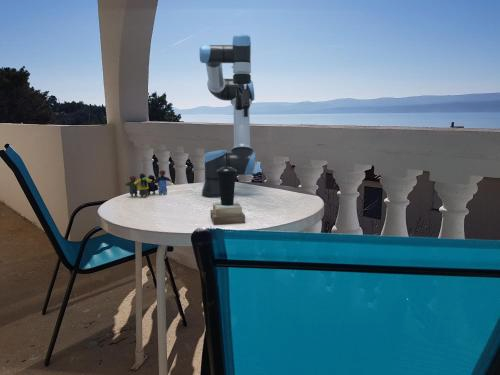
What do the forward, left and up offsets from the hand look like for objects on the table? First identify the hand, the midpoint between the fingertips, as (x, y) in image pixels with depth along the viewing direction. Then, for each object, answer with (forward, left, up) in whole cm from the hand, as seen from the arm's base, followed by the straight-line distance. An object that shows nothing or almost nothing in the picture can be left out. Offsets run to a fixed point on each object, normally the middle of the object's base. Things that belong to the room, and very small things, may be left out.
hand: (242, 125), depth 160 cm
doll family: (-37, -42, -37) cm, 67 cm away
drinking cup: (+19, -10, -31) cm, 37 cm away
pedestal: (+19, -10, -37) cm, 43 cm away
